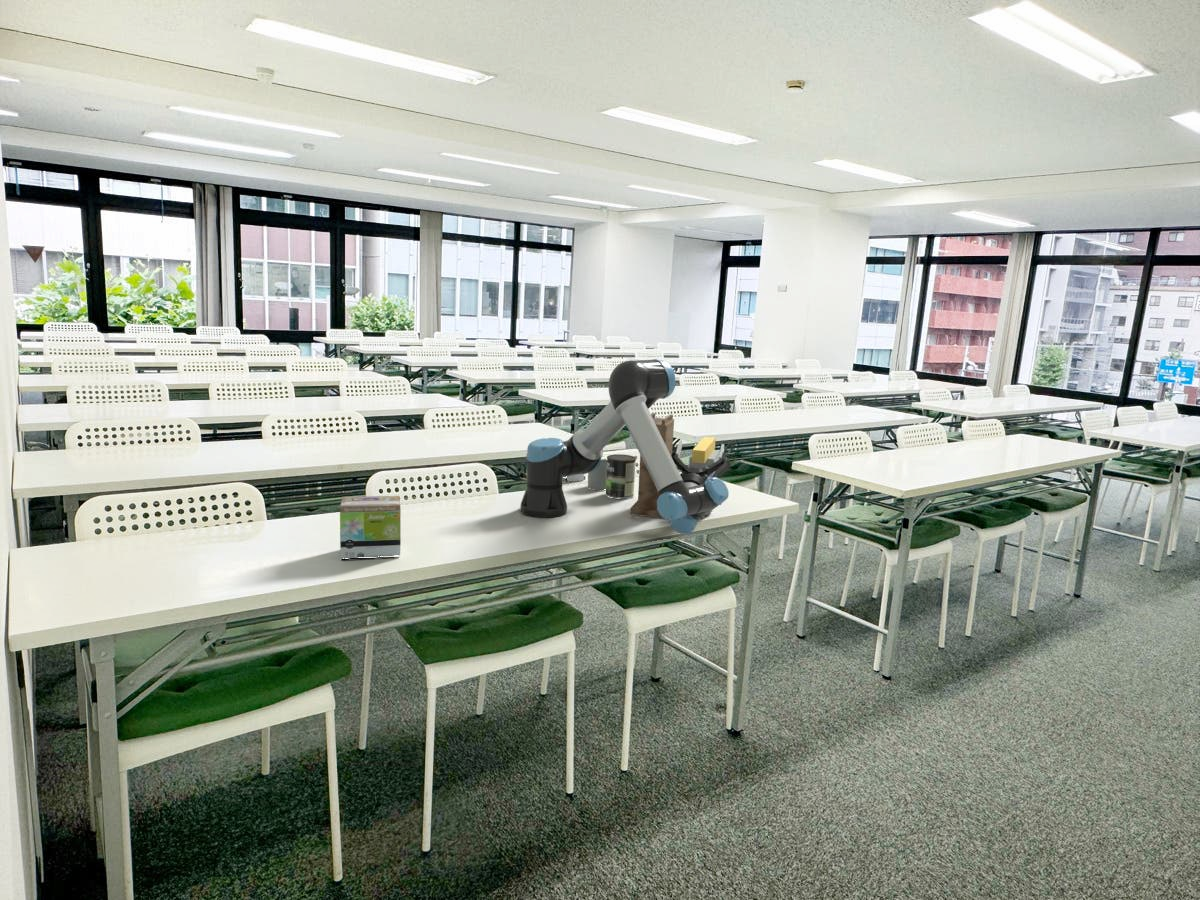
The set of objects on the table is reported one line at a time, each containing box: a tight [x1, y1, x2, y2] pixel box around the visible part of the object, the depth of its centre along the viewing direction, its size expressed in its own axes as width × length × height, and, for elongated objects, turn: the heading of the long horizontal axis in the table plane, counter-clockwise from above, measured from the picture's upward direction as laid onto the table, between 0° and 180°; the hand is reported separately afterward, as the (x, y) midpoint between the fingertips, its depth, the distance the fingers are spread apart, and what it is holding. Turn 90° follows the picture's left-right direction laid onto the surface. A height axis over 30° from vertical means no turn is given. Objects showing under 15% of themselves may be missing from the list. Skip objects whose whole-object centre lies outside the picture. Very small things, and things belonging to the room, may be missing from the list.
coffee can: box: [605, 453, 637, 500], centre depth 264 cm, size 10×10×14 cm
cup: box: [587, 458, 607, 491], centre depth 275 cm, size 8×8×10 cm
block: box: [691, 436, 717, 463], centre depth 246 cm, size 4×26×4 cm, turn 164°
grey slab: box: [688, 449, 720, 516], centre depth 251 cm, size 8×16×19 cm, turn 164°
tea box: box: [339, 495, 402, 559], centre depth 195 cm, size 15×10×15 cm, turn 106°
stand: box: [629, 412, 675, 519], centre depth 246 cm, size 12×18×32 cm, turn 164°
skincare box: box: [566, 474, 585, 482], centre depth 288 cm, size 10×6×10 cm, turn 25°
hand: (701, 445), depth 239 cm, fingers open, 13 cm apart
